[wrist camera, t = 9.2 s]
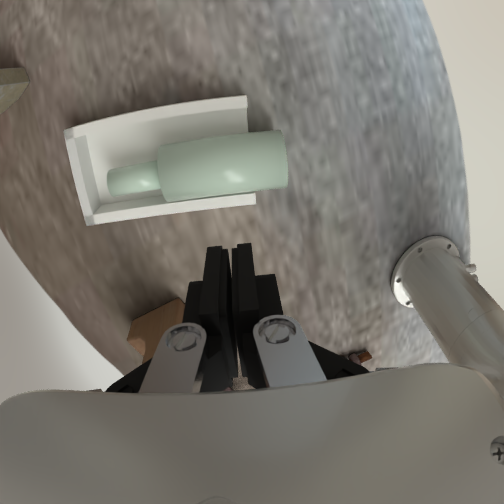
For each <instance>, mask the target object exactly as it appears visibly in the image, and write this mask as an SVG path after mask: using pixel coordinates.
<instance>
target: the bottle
mask: <svg viewBox="0 0 504 504" xmlns="http://www.w3.org/2000/svg"><path fill="white" fill-rule="evenodd" d="M287 184H288V162H287V153H286V146H285V141H284V137H283V134H282V131H281V130H272V131H260V132H250V133H241V134H232V135H224V136H216V137H208V138H201V139H194V140H188V141H181V142H175V143H169V144H164V145H160V146H159V149H158V156H157V160H156V161H150V162H145V163H139V164H134V165H129V166H124V167H119V168H114V169H110V170H109V171H108V173H107V187H108V190H109V193H110V194H111V196H113V197H116V196H122V195H127V194H133V193H138V192H144V191H150V190H156V189H161V190H162V193H163V196H164V198H165V200H166V201H167V202H174V201H181V200H188V199H195V198H203V197H210V196H218V195H226V194H235V193H243V192H252V191H261V190H271V189H281V188H287Z"/></svg>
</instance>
